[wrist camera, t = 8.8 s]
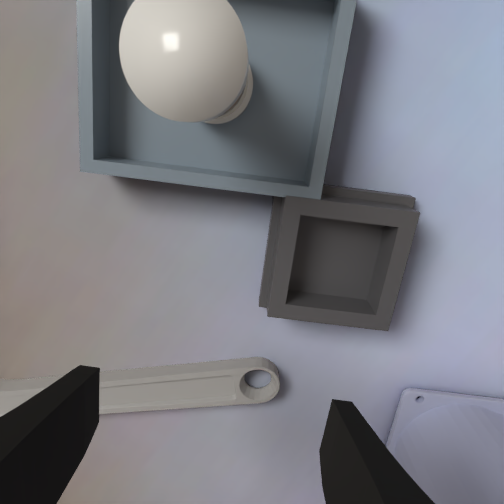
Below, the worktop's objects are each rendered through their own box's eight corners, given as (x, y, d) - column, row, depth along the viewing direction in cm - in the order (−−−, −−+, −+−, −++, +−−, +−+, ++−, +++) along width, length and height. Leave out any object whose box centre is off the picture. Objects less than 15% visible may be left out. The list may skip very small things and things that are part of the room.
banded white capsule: (257, 49, 17) (254, -13, 9) (249, 127, 18) (240, 129, 11) (182, 40, 17) (119, -30, 9) (178, 119, 18) (118, 114, 10)
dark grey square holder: (409, 195, 20) (431, 205, 17) (378, 314, 22) (394, 338, 19) (276, 178, 19) (278, 185, 17) (258, 300, 22) (258, 322, 19)
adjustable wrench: (278, 348, 23) (279, 365, 22) (278, 431, 25) (280, 452, 24) (-117, 355, 24) (-145, 372, 22) (-85, 435, 26) (-109, 457, 24)
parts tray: (347, -7, 17) (362, -29, 14) (312, 192, 20) (319, 201, 17) (101, -41, 17) (74, -69, 14) (102, 166, 19) (80, 171, 17)
